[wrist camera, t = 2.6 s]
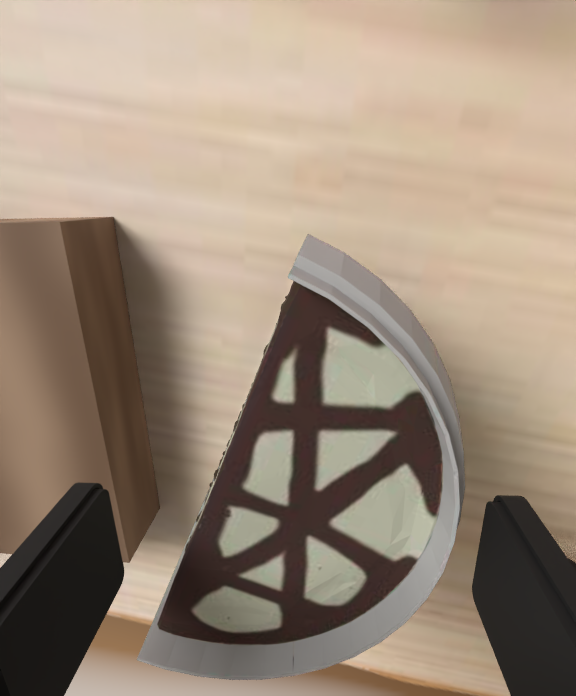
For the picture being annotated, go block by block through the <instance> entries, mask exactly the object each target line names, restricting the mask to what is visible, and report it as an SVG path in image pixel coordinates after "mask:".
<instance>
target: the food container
mask: <svg viewBox="0 0 576 696" xmlns="http://www.w3.org/2000/svg"><path fill="white" fill-rule="evenodd" d="M288 278H289V279H291V280H293V281H294V282H293V284H292V286H291V289H290V292H289V294H288V296H285V298H286V300H285V301H284V303H283V304H282V306H281V312H280V316H279V319H278V322H277V323H276V327H275V329H274V332H273V334H272V337H271V339H270V342H269V344H268V345H267V346H266V348H265V350H264V356H263V359H262V361H261V364H260V367H259V369H258V372H257V373H256V376H255V379H254V382H253V383H252V385H251V389H250V391H249V394H248V396H247V399H246V402H245V403H244V404H243V407H242V411H241V412H240V414H239V417H238V420H237V421H236V422H235V426H234V430H233V434H232V436H231V438H230V440H229V442H228V444H227V448H226V450H225V451H224V452H223V457H222V459H221V460H220V464H219V467H218V469H217V470H216V471H215V473H214V479H213V481H212V483H210V488H209V490H208V493H207V495H206V497H205V500H204V502H203V505H202V507H201V509H200V512H199V514H198V516H197V519H196V521H195V523H194V526H193V528H192V530H191V533H190V535H189V538H188V540H187V542H186V545H185V547H184V549H183V552H182V554H181V556H180V559H179V561H178V564H177V566H176V568H175V571H174V573H173V575H172V578H171V580H170V582H169V585H168V587H167V589H166V592H165V594H164V597H163V599H162V601H161V604H160V606H159V608H158V611H157V613H156V615H155V618H154V620H153V622H152V625H151V627H150V630H149V632H148V634H147V637H146V639H145V642H144V644H143V646H142V649H141V651H140V653H139V656H138V658H137V660H138V661H141V662H144V663H147V664H150V665H153V666H156V667H159V668H162V669H166V670H170V671H175V672H180V673H185V674H189V675H194V676H200V677H210V678H219V679H229V680H231V679H232V680H248V679H249V680H251V679H256V680H257V679H260V680H262V679H271V678H279V677H288V676H295V675H299V674H303V673H307V672H311V671H316V670H320V669H324V668H327V667H329V666H332V665H335V664H337V663H340V662H342V661H345V660H348V659H350V658H353V657H355V656H357V655H359V654H360V653H362V652H364V651H366V650H367V649H369V648H371V647H373V646H375V645H376V644H378V643H380V642H382V641H383V640H384V639H385V638H387V637H388V636H389V635H391V634H392V633H393V632H394V631H396V630H397V629H398V628H399V627H401V626H402V625H403V624H405V623H406V622H407V621H408V619H409V618H410V617H411V616H412V615H413V614H414V613H415V612H416V611H417V609H418V608H419V607H420V606H421V605H422V604H423V603H424V602H425V601H426V599H427V598H428V596H429V595H430V593H431V591H432V590H433V588H434V587H435V585H436V583H437V582H438V580H439V578H440V577H441V575H442V574H443V572H444V569H445V566H446V563H447V561H448V558H449V555H450V553H451V550H452V547H453V545H454V542H455V536H456V530H457V527H458V524H459V522H460V516H461V510H462V503H463V497H464V491H465V473H464V450H463V443H462V435H461V428H460V420H459V414H458V410H457V406H456V402H455V398H454V394H453V389H452V385H451V381H450V378H449V376H448V374H447V372H446V369H445V367H444V365H443V363H442V361H441V358H440V356H439V354H438V352H437V350H436V347H435V345H434V343H433V342H432V340H431V339H430V337H429V336H428V335H427V333H426V332H425V330H424V329H423V327H422V326H421V324H420V323H419V321H418V320H417V319H416V317H415V316H414V314H413V313H412V311H411V310H410V309H409V308H408V307H407V306H406V305H405V304H404V303H403V302H402V301H401V300H400V299H399V298H398V297H397V296H396V294H395V293H394V292H393V291H392V290H391V289H390V288H389V287H388V286H387V285H386V284H385V283H384V282H383V281H382V280H381V279H380V278H378V277H377V276H376V275H374V274H373V273H371V272H370V271H369V270H367V269H366V268H365V267H363V266H362V265H361V264H359V263H358V262H357V261H355V260H354V259H352V258H351V257H350V256H348V255H347V254H346V253H344V252H342V251H340V250H338V249H337V248H335V247H333V246H331V245H329V244H327V243H325V242H323V241H321V240H319V239H317V238H315V237H313V236H311V235H309V234H308V235H307V237H306V239H305V241H304V243H303V245H302V247H301V249H300V251H299V253H298V255H297V258H296V260H295V263H294V265H293V267H292V269H291V271H290V273H289V275H288Z"/></svg>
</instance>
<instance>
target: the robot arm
mask: <svg viewBox="0 0 576 696" xmlns="http://www.w3.org/2000/svg"><path fill="white" fill-rule="evenodd" d="M123 577H124V566H123V561H122V556H121V551H120V546H119V541H118V536H117V531H116V526H115V521H114V516H113V511H112V506H111V501H110V496H109V492H108V490H106V489H103V486H102V485H101V484H100V483H80V482H78V483H75V484H74V485H73V486H72V487H71V488H70V489H69V490H68V491H67V492H66V493H65V495H64V496H63V497H62V498H61V499H60V500H59V501H58V503H57V504H56V505H55V506H54V507H53V508H52V510H51V511H50V512H49V513H48V514H47V515H46V516H45V518H44V519H43V520H42V521H41V522H40V523H39V524H38V526H37V527H36V528H35V529H34V530H33V531H32V532H31V534H30V535H29V536H28V537H27V538H26V539H25V540H24V542H23V543H22V544H21V545H20V546H19V547H18V549H17V550H16V551H15V552H14V553H13V554H12V555H11V557H10V558H9V559H8V560H7V561H6V562H5V563H4V565H3V566H2V567H1V568H0V696H64V695H65V693H66V690H67V689H68V687H69V685H70V683H71V681H72V679H73V677H74V675H75V673H76V671H77V670H78V668H79V666H80V664H81V662H82V660H83V658H84V656H85V654H86V652H87V650H88V648H89V646H90V644H91V642H92V640H93V639H94V637H95V635H96V633H97V631H98V629H99V627H100V625H101V623H102V621H103V619H104V617H105V615H106V613H107V612H108V610H109V608H110V606H111V604H112V602H113V600H114V598H115V596H116V594H117V592H118V590H119V588H120V586H121V584H122V581H123ZM472 592H473V598H474V602H475V605H476V607H477V610H478V612H479V615H480V618H481V620H482V623H483V625H484V628H485V630H486V633H487V636H488V638H489V641H490V643H491V646H492V648H493V651H494V653H495V656H496V659H497V661H498V664H499V666H500V669H501V671H502V674H503V677H504V679H505V682H506V684H507V687H508V689H509V692H510V695H511V696H576V563H575V562H573V561H572V560H570V559H568V558H567V557H566V556H565V554H564V553H563V551H562V550H561V548H560V547H559V546H558V544H557V543H556V541H555V540H554V538H553V537H552V536H551V534H550V533H549V531H548V530H547V528H546V527H545V526H544V524H543V523H542V521H541V520H540V518H539V517H538V516H537V514H536V513H535V511H534V510H533V508H532V507H531V506H530V504H529V503H528V501H527V500H526V499H525V498H524V497H522V496H502V495H498V496H496V497H495V498H494V501H493V502H488V503H487V505H486V509H485V515H484V521H483V527H482V532H481V538H480V544H479V550H478V555H477V561H476V567H475V573H474V578H473V584H472Z"/></svg>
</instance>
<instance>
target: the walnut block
mask: <svg viewBox="0 0 576 696" xmlns="http://www.w3.org/2000/svg"><path fill="white" fill-rule="evenodd" d="M78 482H80V483H100V484H101V485H102V486H103V489H106V490H108V492H109V496H110V501H111V506H112V511H113V516H114V521H115V526H116V531H117V536H118V541H119V546H120V551H121V556H122V561H123V562H127V563H129V562H130V560H131V559H132V557H133V555H134V553H135V551H136V550H137V548H138V546H139V544H140V543H141V541H142V539H143V537H144V535H145V534H146V532H147V530H148V528H149V526H150V525H151V523H152V521H153V519H154V517H155V516H156V514H157V512H158V510H159V509H160V506H159V500H158V493H157V487H156V481H155V475H154V468H153V462H152V456H151V450H150V443H149V437H148V431H147V425H146V418H145V412H144V406H143V400H142V393H141V387H140V381H139V375H138V368H137V362H136V356H135V349H134V343H133V337H132V331H131V324H130V318H129V312H128V306H127V299H126V293H125V287H124V281H123V274H122V268H121V262H120V256H119V249H118V243H117V237H116V231H115V224H114V218H113V217H89V218H37V219H0V553H6V554H13V553H14V552H15V551H16V550H17V549H18V547H19V546H20V545H21V544H22V543H23V542H24V540H25V539H26V538H27V537H28V536H29V535H30V534H31V532H32V531H33V530H34V529H35V528H36V527H37V526H38V524H39V523H40V522H41V521H42V520H43V519H44V518H45V516H46V515H47V514H48V513H49V512H50V511H51V510H52V508H53V507H54V506H55V505H56V504H57V503H58V501H59V500H60V499H61V498H62V497H63V496H64V495H65V493H66V492H67V491H68V490H69V489H70V488H71V487H72V486H73V485H74V484H75V483H78Z"/></svg>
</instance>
